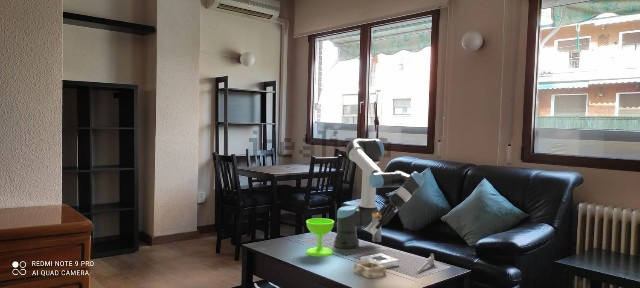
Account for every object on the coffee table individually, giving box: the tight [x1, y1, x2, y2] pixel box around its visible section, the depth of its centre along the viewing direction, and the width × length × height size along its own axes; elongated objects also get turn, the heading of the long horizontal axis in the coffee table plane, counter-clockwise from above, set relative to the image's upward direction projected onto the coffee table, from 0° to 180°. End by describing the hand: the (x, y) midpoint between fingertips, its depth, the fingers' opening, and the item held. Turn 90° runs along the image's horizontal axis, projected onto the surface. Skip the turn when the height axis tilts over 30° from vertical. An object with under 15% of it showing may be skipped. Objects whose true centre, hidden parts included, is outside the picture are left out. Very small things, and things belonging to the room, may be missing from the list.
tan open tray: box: [353, 261, 387, 279], centre depth 222 cm, size 12×10×4 cm
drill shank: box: [371, 212, 382, 243], centre depth 226 cm, size 5×5×14 cm
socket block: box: [360, 252, 400, 269], centre depth 238 cm, size 14×14×3 cm
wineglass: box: [305, 217, 335, 258], centre depth 257 cm, size 16×16×18 cm
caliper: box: [415, 252, 435, 275], centre depth 231 cm, size 20×1×6 cm, turn 143°
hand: (369, 231), depth 225 cm, fingers closed on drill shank, 4 cm apart
